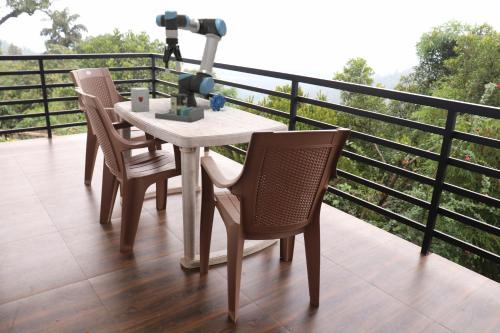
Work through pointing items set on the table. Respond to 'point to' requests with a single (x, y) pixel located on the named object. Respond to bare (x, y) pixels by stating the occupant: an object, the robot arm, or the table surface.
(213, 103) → the grapes
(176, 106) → the coffee can
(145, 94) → the supplement box
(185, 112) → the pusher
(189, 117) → the lane
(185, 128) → the table surface
